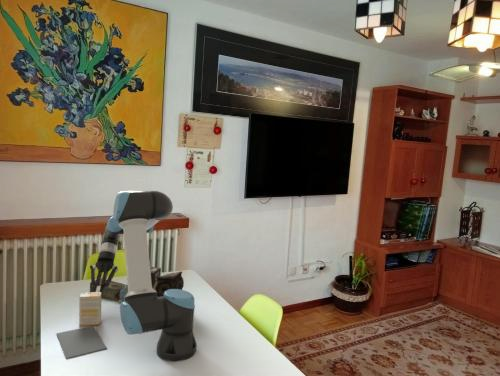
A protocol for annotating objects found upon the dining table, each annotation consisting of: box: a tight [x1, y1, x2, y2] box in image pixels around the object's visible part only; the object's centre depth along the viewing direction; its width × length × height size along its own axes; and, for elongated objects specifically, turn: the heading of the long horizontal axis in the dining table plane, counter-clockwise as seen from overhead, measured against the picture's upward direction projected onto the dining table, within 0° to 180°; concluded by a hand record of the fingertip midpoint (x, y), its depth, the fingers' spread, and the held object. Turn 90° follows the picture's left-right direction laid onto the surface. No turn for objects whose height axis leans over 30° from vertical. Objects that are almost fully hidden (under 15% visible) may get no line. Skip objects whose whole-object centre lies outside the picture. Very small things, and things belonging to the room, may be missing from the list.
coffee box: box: [150, 266, 162, 291], centre depth 188 cm, size 9×6×16 cm
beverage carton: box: [89, 277, 128, 302], centre depth 191 cm, size 8×19×7 cm, turn 70°
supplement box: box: [78, 291, 102, 327], centre depth 161 cm, size 8×5×13 cm, turn 102°
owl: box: [156, 270, 185, 297], centre depth 174 cm, size 13×13×20 cm
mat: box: [56, 325, 108, 360], centre depth 147 cm, size 20×14×1 cm
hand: (96, 300), depth 169 cm, fingers closed
